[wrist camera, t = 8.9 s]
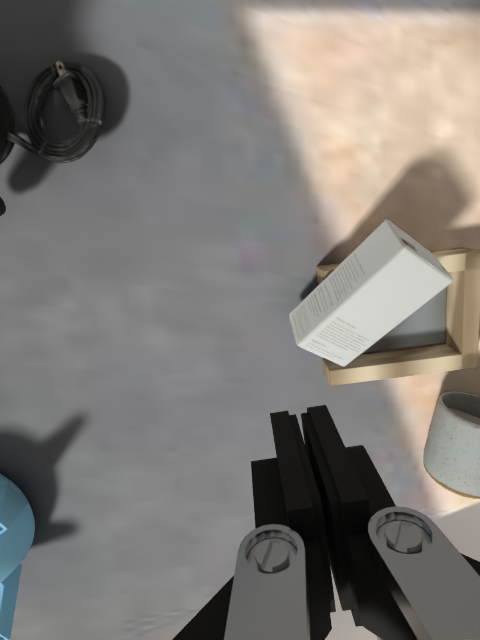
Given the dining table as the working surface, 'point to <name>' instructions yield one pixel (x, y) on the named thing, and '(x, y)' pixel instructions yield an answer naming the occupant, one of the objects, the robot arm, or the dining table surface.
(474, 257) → the wooden tray
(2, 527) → the teapot
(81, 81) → the black and silver appliance
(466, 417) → the ceramic mug
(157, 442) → the dining table surface
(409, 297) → the skincare box
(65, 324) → the dining table surface
